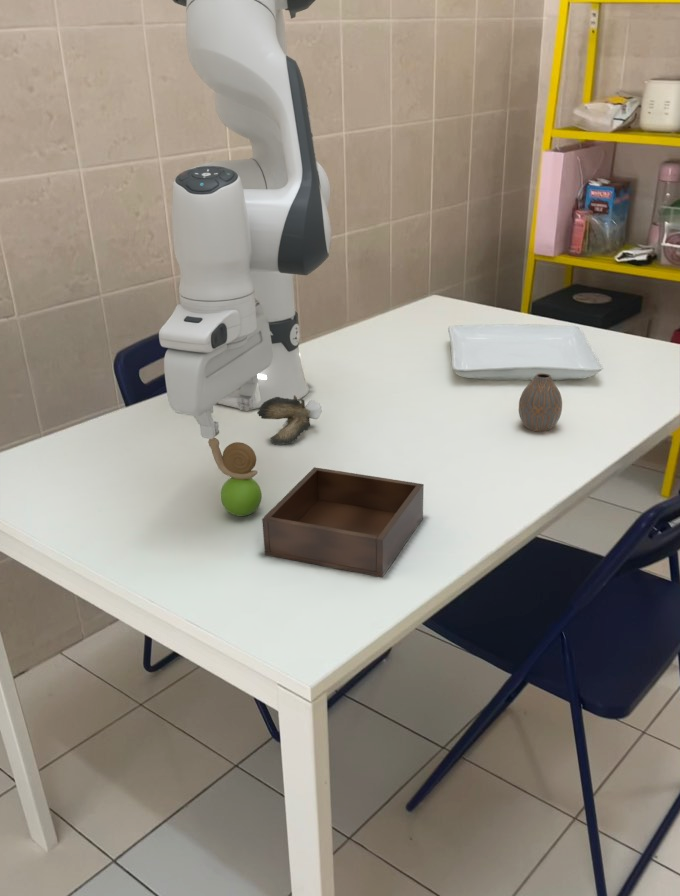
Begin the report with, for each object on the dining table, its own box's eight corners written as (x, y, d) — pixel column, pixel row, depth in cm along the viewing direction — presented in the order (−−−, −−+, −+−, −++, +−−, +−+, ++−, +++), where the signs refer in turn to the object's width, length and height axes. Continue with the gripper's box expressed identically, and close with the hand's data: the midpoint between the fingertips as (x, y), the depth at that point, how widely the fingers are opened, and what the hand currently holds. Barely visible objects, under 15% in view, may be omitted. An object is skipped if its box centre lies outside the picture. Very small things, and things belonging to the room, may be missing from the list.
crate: (264, 554, 109) (261, 518, 106) (315, 500, 121) (314, 467, 119) (382, 577, 104) (382, 540, 101) (423, 518, 116) (423, 483, 114)
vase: (559, 436, 140) (565, 384, 135) (515, 433, 141) (519, 381, 136) (560, 420, 145) (565, 369, 141) (518, 417, 147) (522, 367, 142)
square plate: (446, 341, 184) (447, 323, 182) (578, 342, 183) (580, 323, 181) (451, 386, 160) (452, 365, 158) (602, 386, 159) (605, 366, 157)
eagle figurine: (282, 412, 147) (248, 420, 139) (303, 381, 143) (269, 387, 135) (312, 444, 145) (278, 454, 138) (334, 414, 141) (300, 422, 134)
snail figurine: (222, 502, 121) (213, 421, 115) (267, 505, 120) (261, 423, 114) (210, 521, 116) (200, 437, 110) (257, 524, 115) (250, 440, 109)
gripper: (237, 291, 114) (245, 391, 121) (149, 337, 98) (164, 449, 105) (281, 295, 112) (286, 397, 119) (198, 343, 96) (210, 457, 103)
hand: (229, 422), depth 112 cm, fingers open, 8 cm apart
